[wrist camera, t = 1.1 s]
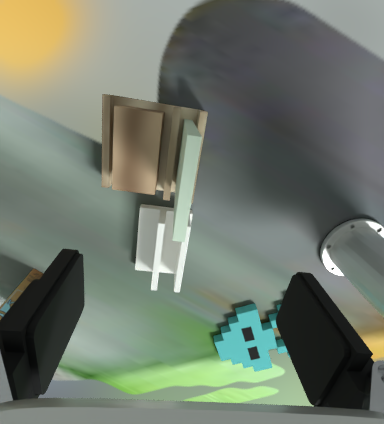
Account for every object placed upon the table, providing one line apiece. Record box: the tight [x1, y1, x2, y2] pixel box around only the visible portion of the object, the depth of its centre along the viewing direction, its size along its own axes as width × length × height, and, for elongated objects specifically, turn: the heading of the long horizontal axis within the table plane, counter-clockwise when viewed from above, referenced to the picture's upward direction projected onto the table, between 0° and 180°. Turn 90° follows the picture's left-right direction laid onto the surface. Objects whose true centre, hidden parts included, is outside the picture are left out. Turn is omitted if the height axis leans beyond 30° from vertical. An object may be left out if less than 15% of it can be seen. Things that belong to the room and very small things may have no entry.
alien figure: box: [214, 303, 290, 371], centre depth 58 cm, size 20×2×20 cm
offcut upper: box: [112, 105, 164, 195], centre depth 35 cm, size 6×11×2 cm, turn 171°
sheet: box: [172, 119, 202, 242], centre depth 30 cm, size 1×10×18 cm, turn 172°
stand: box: [135, 204, 193, 292], centre depth 43 cm, size 9×13×6 cm
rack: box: [102, 94, 208, 204], centre depth 37 cm, size 14×13×6 cm
